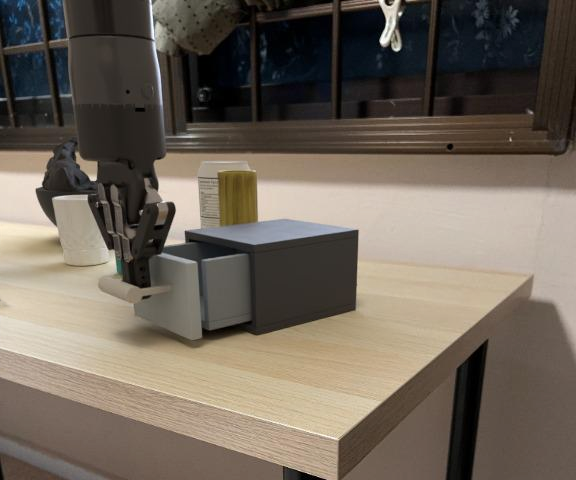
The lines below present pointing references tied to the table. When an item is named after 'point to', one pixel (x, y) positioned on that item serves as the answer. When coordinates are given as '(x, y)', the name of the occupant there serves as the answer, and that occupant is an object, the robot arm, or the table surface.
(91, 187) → the bowl of black rocks
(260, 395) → the table surface
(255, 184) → the vase
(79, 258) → the white cup
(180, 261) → the pulled-out drawer
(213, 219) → the supplement can
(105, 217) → the robot arm
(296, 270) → the grey drawer cabinet
